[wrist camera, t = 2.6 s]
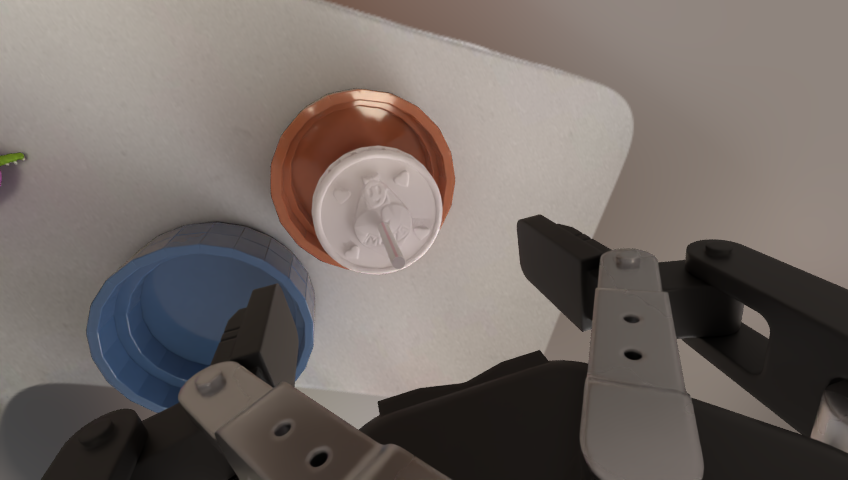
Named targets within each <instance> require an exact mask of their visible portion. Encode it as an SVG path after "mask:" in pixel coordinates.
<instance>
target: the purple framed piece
mask: <svg viewBox="0 0 848 480" xmlns="http://www.w3.org/2000/svg"><path fill="white" fill-rule="evenodd" d="M17 160H23V161H24V160H26V159H25V158H24V154H22V153H11V154H7V155H1V156H0V166H2V165H7V166H8V165H10V164H9V163H10V162H13V163H14V164H15V165H16V164H18V163H17V162H16V161H17ZM1 182H2V174H1V170H0V186H1Z"/></svg>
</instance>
